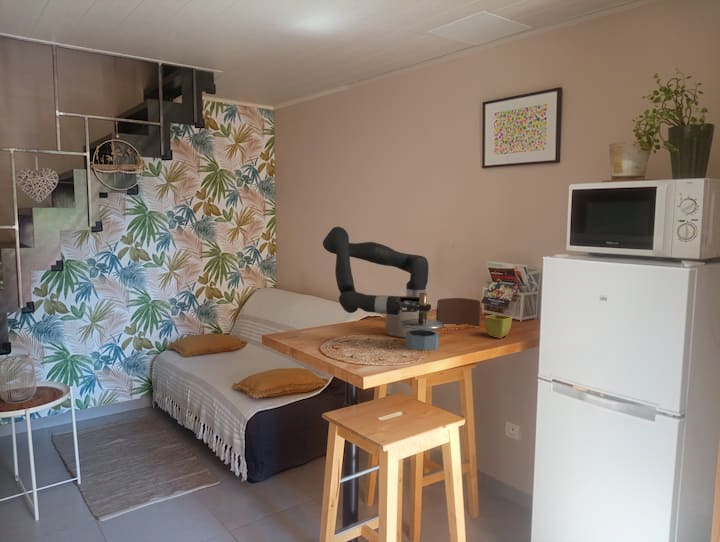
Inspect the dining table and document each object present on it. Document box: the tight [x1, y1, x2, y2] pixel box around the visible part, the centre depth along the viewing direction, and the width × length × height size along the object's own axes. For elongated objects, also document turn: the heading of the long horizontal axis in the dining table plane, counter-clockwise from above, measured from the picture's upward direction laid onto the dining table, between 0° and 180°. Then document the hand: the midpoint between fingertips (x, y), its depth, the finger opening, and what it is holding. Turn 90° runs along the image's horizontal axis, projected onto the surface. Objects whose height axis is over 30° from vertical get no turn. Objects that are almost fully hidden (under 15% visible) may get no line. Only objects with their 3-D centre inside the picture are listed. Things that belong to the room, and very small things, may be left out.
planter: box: [385, 295, 419, 339], centre depth 240 cm, size 18×18×16 cm
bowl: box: [405, 330, 440, 352], centre depth 218 cm, size 12×12×6 cm
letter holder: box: [435, 297, 481, 327], centre depth 259 cm, size 10×20×14 cm, turn 84°
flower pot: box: [484, 313, 513, 337], centre depth 236 cm, size 9×9×9 cm
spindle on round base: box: [401, 292, 445, 331], centre depth 217 cm, size 17×17×13 cm
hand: (429, 307), depth 216 cm, fingers closed on spindle on round base, 3 cm apart
